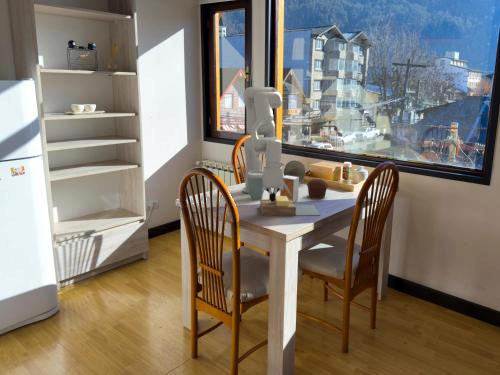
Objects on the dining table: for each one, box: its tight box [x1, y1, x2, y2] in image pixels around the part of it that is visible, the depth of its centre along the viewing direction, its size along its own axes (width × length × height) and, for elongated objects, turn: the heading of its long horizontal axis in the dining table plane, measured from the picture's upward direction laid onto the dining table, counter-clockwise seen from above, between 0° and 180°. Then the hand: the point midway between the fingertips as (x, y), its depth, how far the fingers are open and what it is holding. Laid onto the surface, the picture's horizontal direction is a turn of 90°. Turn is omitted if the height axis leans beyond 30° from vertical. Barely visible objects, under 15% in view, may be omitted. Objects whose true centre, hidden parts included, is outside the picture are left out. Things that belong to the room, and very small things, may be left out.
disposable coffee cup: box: [245, 170, 264, 201], centre depth 227 cm, size 11×11×15 cm
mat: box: [294, 204, 321, 217], centre depth 208 cm, size 16×12×1 cm
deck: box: [259, 199, 296, 217], centre depth 207 cm, size 14×16×4 cm
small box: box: [279, 175, 300, 203], centre depth 225 cm, size 8×6×13 cm
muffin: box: [306, 178, 329, 200], centre depth 233 cm, size 12×11×10 cm
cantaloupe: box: [283, 160, 306, 183], centre depth 260 cm, size 14×14×15 cm
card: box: [275, 195, 289, 206], centre depth 206 cm, size 9×6×2 cm, turn 3°
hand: (272, 201), depth 206 cm, fingers closed
